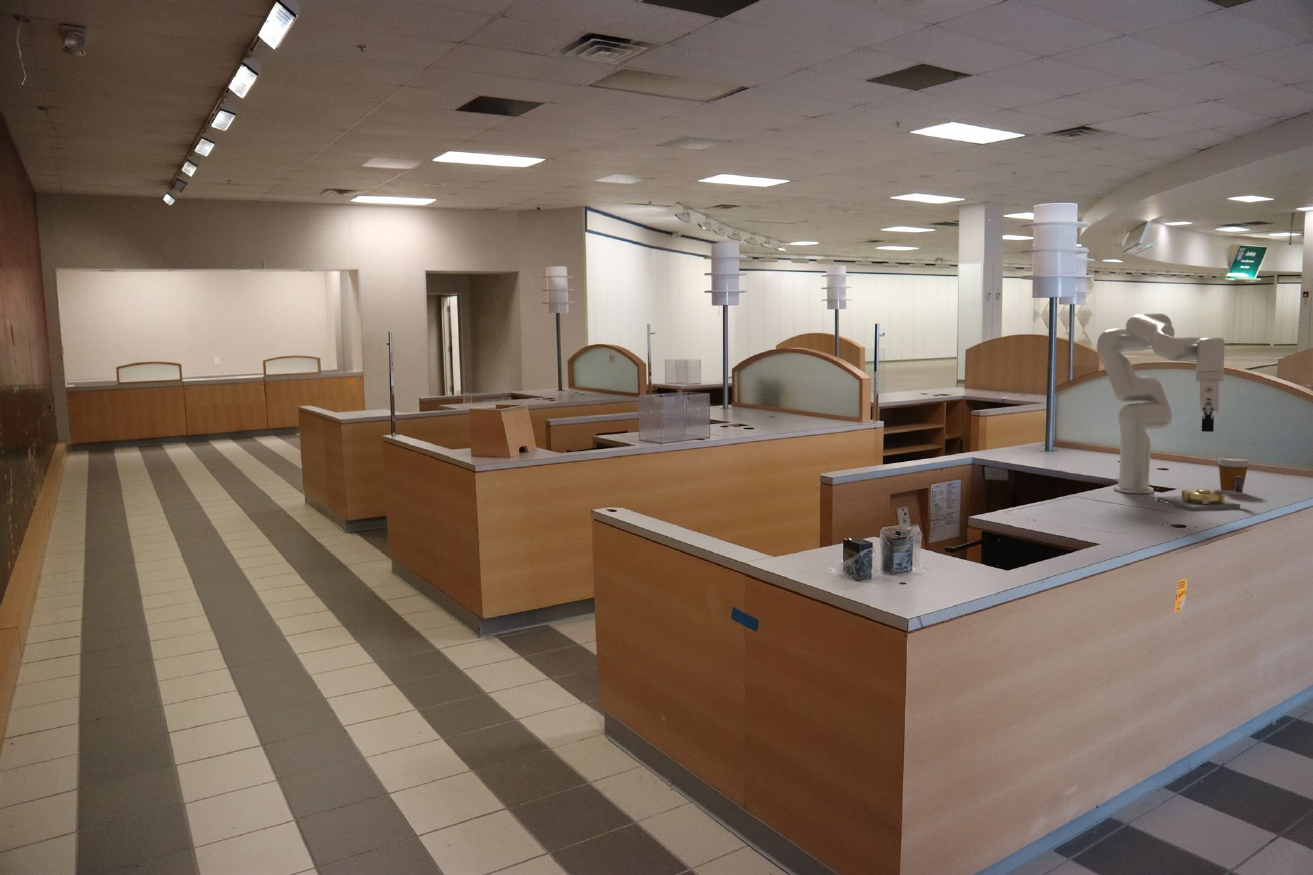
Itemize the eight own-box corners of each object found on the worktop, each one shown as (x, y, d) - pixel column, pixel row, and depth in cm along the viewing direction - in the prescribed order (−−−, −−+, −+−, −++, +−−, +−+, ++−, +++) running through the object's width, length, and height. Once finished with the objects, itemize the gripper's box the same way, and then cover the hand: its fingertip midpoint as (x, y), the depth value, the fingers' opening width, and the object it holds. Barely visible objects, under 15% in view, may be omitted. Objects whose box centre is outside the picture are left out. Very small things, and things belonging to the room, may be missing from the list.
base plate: (1156, 500, 305) (1157, 496, 305) (1203, 498, 307) (1203, 494, 307) (1191, 510, 289) (1191, 506, 288) (1240, 508, 290) (1240, 504, 290)
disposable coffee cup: (1215, 489, 321) (1217, 456, 320) (1247, 491, 316) (1249, 457, 315) (1215, 493, 313) (1217, 460, 312) (1248, 496, 308) (1250, 461, 307)
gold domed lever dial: (1184, 503, 293) (1186, 477, 292) (1180, 495, 305) (1181, 471, 304) (1245, 506, 287) (1246, 479, 285) (1238, 498, 298) (1239, 473, 297)
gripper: (1223, 378, 275) (1221, 433, 277) (1223, 375, 290) (1221, 427, 292) (1195, 378, 279) (1193, 432, 281) (1196, 375, 294) (1194, 427, 296)
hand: (1207, 430), depth 286 cm, fingers open, 9 cm apart
